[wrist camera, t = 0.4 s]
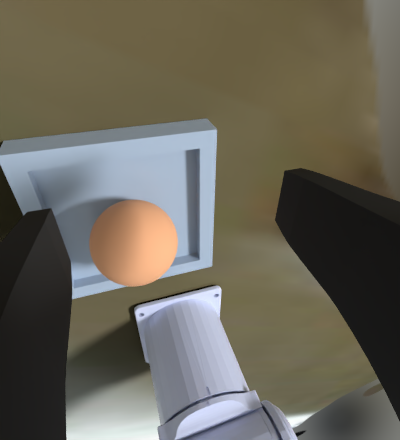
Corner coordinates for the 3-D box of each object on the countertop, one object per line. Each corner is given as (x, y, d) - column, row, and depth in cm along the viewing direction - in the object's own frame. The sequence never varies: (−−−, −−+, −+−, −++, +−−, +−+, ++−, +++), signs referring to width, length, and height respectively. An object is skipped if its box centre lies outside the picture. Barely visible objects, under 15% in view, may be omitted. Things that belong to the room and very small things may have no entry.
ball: (169, 238, 22) (188, 292, 18) (97, 253, 20) (101, 314, 17) (164, 177, 18) (186, 227, 15) (79, 190, 17) (79, 248, 14)
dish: (204, 250, 25) (212, 266, 23) (63, 282, 22) (62, 301, 21) (206, 118, 18) (217, 129, 17) (3, 140, 15) (-4, 156, 14)
